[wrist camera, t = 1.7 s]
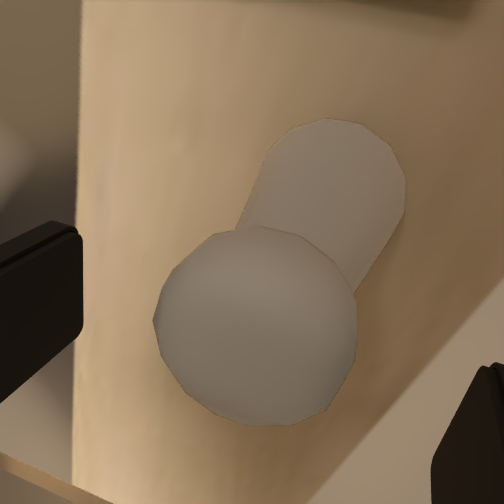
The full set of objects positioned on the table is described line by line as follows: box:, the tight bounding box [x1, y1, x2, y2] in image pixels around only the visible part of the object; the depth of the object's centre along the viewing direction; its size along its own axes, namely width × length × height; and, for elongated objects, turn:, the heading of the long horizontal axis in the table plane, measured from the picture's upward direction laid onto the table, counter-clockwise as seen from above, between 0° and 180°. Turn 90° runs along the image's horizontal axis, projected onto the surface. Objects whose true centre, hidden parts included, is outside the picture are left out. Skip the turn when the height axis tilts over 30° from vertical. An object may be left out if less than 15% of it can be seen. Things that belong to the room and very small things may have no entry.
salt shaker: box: [153, 118, 406, 426], centre depth 14 cm, size 6×6×13 cm
